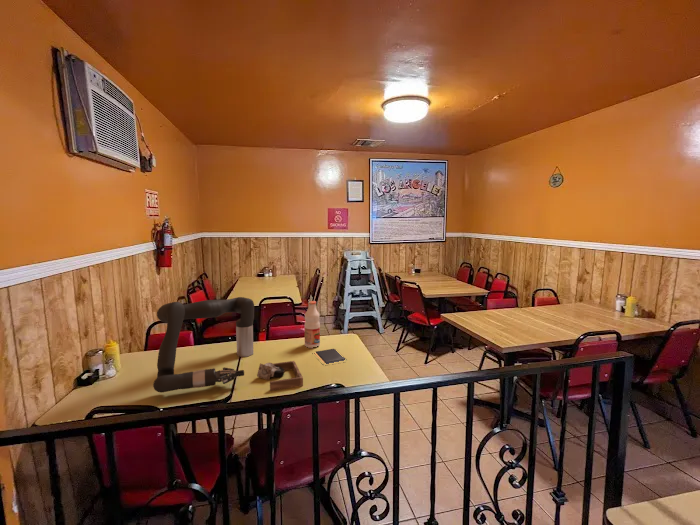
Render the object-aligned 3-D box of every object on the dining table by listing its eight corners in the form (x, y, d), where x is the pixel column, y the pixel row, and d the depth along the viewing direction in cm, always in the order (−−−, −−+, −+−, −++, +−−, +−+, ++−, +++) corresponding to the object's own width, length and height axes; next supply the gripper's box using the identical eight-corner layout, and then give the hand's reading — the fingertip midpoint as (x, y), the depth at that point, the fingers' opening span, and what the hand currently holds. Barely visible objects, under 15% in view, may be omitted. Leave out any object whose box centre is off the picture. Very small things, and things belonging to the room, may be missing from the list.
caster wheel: (284, 377, 176) (277, 384, 166) (265, 370, 178) (256, 376, 168) (288, 365, 176) (280, 370, 166) (268, 358, 178) (259, 363, 168)
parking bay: (265, 372, 176) (264, 364, 176) (294, 367, 182) (294, 360, 181) (270, 390, 157) (270, 382, 157) (302, 385, 163) (302, 377, 162)
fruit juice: (306, 342, 218) (306, 299, 214) (320, 343, 218) (320, 300, 214) (303, 348, 209) (303, 303, 205) (318, 348, 208) (318, 303, 205)
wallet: (348, 359, 190) (322, 363, 184) (348, 362, 190) (322, 367, 184) (335, 346, 208) (311, 350, 202) (335, 349, 209) (311, 353, 203)
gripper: (203, 376, 149) (244, 370, 155) (204, 364, 162) (242, 359, 168) (204, 392, 150) (245, 386, 156) (205, 379, 163) (243, 374, 169)
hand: (243, 372), depth 162 cm, fingers closed
